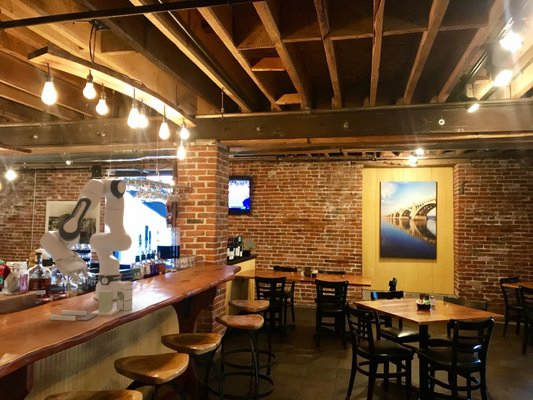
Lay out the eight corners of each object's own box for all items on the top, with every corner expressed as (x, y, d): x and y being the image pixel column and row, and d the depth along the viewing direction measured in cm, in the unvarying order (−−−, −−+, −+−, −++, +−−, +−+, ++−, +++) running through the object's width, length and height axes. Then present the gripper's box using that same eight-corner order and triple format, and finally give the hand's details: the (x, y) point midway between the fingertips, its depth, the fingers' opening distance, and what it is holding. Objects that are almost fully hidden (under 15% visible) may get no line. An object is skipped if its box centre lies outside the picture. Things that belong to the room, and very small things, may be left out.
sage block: (102, 309, 203) (103, 290, 203) (112, 309, 203) (113, 290, 203) (98, 311, 198) (99, 291, 198) (108, 312, 198) (109, 292, 198)
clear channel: (63, 314, 196) (63, 310, 196) (98, 315, 195) (98, 311, 195) (50, 319, 185) (50, 315, 185) (87, 321, 184) (87, 316, 184)
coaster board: (100, 310, 206) (100, 308, 206) (119, 311, 205) (119, 309, 205) (91, 314, 196) (91, 312, 196) (110, 315, 195) (110, 313, 195)
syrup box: (132, 309, 210) (133, 281, 211) (123, 311, 205) (124, 283, 206) (125, 307, 213) (126, 280, 214) (116, 309, 208) (117, 281, 209)
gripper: (58, 255, 192) (77, 276, 191) (79, 252, 212) (96, 271, 212) (48, 264, 192) (67, 285, 191) (70, 260, 212) (87, 279, 212)
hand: (82, 277), depth 202 cm, fingers open, 8 cm apart
